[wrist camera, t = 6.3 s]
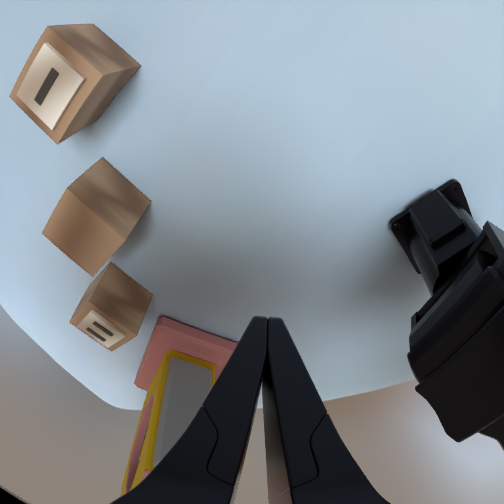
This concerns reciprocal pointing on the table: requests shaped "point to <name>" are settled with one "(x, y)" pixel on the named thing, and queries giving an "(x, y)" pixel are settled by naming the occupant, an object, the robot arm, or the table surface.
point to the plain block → (95, 216)
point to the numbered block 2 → (112, 308)
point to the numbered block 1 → (71, 78)
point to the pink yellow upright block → (172, 390)
